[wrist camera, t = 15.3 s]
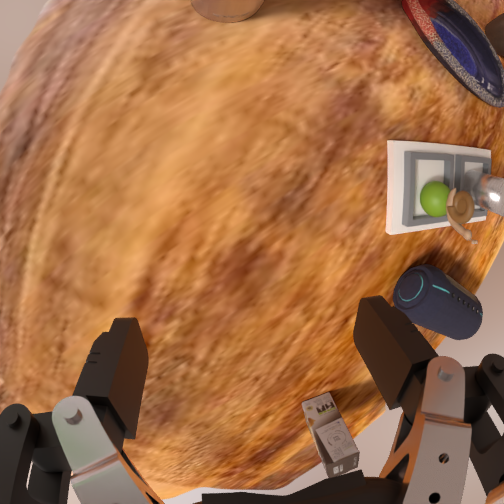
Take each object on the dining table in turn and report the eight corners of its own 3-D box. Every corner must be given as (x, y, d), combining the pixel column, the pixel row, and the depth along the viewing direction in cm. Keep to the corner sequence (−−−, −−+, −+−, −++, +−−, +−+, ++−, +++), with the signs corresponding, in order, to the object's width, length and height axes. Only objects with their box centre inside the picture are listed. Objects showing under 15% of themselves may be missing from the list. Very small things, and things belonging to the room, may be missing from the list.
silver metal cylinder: (461, 169, 39) (500, 180, 31) (479, 170, 40) (516, 180, 31) (459, 202, 41) (496, 217, 33) (477, 201, 42) (512, 215, 34)
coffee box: (300, 402, 53) (325, 465, 39) (329, 390, 54) (360, 451, 39) (306, 423, 57) (328, 479, 42) (332, 412, 57) (359, 467, 43)
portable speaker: (466, 289, 52) (495, 311, 43) (443, 327, 54) (469, 351, 45) (407, 247, 44) (446, 272, 35) (377, 297, 47) (409, 330, 38)
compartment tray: (387, 140, 37) (399, 141, 34) (485, 149, 40) (496, 151, 37) (385, 231, 42) (396, 238, 39) (480, 217, 45) (490, 222, 43)
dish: (486, 128, 39) (505, 130, 34) (375, 14, 29) (394, 4, 24) (499, 74, 34) (516, 74, 30) (399, -33, 25) (416, -42, 20)
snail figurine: (409, 217, 40) (464, 245, 29) (414, 176, 38) (473, 195, 27) (432, 217, 41) (485, 243, 30) (438, 179, 39) (494, 198, 28)
